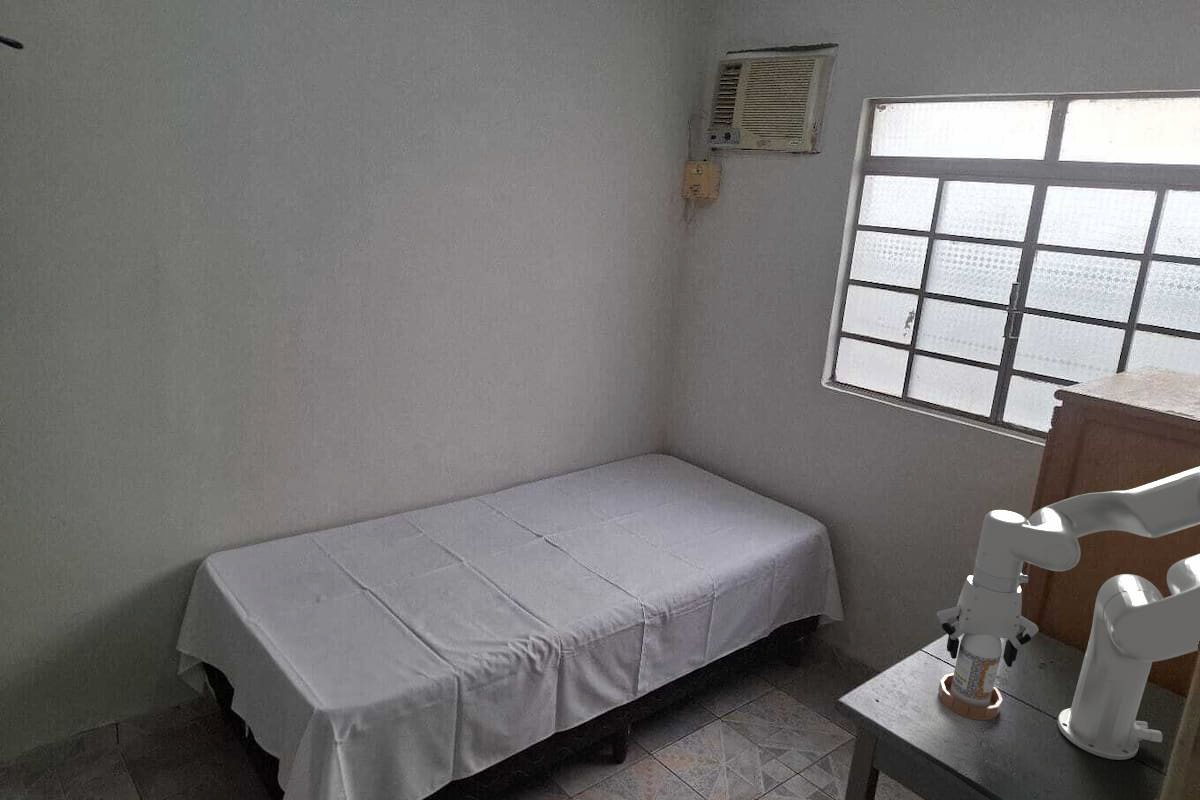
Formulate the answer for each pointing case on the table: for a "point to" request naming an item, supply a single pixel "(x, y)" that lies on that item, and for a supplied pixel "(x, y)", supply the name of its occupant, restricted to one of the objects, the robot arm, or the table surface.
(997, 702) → the ring dish
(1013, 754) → the table surface
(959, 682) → the bath foam
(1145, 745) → the table surface
